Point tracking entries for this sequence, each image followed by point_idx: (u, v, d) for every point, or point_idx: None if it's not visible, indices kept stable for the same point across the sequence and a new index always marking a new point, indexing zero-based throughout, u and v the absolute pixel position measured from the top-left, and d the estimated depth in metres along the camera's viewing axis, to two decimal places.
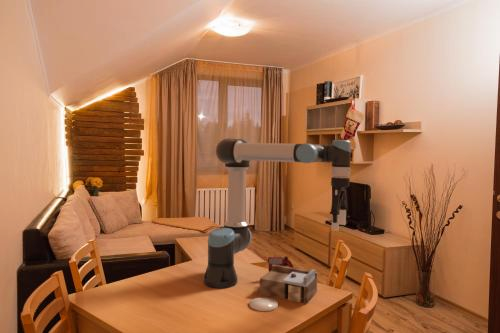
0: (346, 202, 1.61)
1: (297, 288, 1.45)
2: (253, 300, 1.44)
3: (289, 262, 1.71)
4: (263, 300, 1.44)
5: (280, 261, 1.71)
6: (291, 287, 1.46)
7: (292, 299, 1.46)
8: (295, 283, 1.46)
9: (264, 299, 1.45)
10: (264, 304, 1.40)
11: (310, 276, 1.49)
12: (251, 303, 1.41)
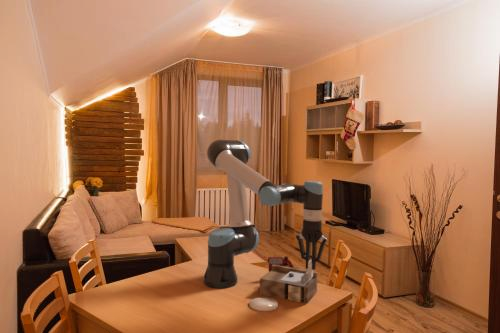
0: (318, 254, 1.46)
1: (297, 288, 1.45)
2: (253, 300, 1.44)
3: (289, 262, 1.71)
4: (263, 300, 1.44)
5: (280, 261, 1.71)
6: (291, 287, 1.46)
7: (292, 299, 1.46)
8: (293, 283, 1.46)
9: (264, 299, 1.45)
10: (264, 304, 1.40)
11: None
12: (251, 303, 1.41)
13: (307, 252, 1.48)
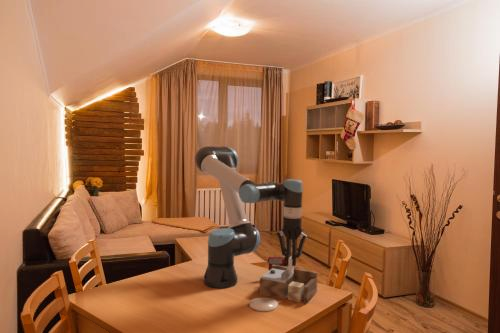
0: (298, 250, 1.50)
1: (297, 288, 1.45)
2: (253, 300, 1.44)
3: None
4: (263, 300, 1.44)
5: (280, 261, 1.71)
6: (291, 287, 1.46)
7: (292, 299, 1.46)
8: (273, 279, 1.50)
9: (264, 299, 1.45)
10: (264, 304, 1.40)
11: None
12: (251, 303, 1.41)
13: (287, 249, 1.52)
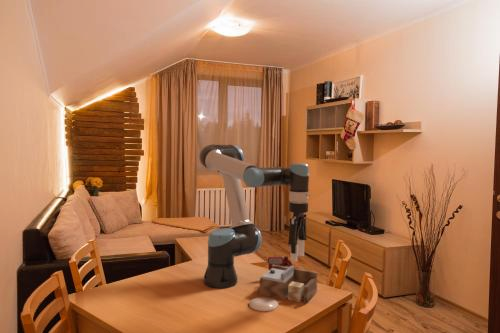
0: (305, 231, 1.52)
1: (297, 288, 1.45)
2: (253, 300, 1.44)
3: (289, 262, 1.71)
4: (263, 300, 1.44)
5: (280, 261, 1.71)
6: (291, 287, 1.46)
7: (292, 299, 1.46)
8: (273, 279, 1.50)
9: (264, 299, 1.45)
10: (264, 304, 1.40)
11: (288, 272, 1.53)
12: (251, 303, 1.41)
13: (297, 236, 1.43)
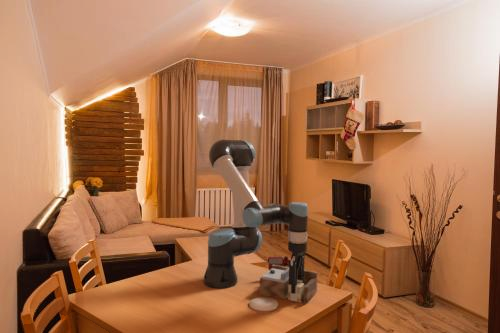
0: (303, 270, 1.52)
1: None
2: (253, 300, 1.44)
3: None
4: (263, 300, 1.44)
5: (280, 261, 1.71)
6: None
7: None
8: (273, 279, 1.50)
9: (264, 299, 1.45)
10: (264, 304, 1.40)
11: (288, 272, 1.53)
12: (251, 303, 1.41)
13: (297, 276, 1.45)
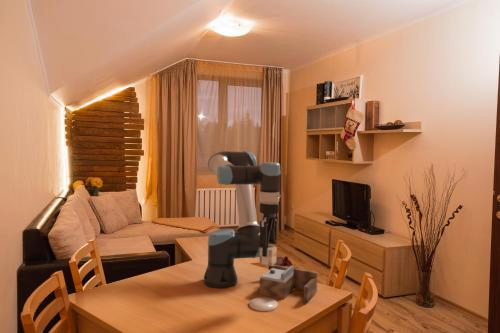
0: (276, 234, 1.46)
1: (269, 251, 1.39)
2: (253, 300, 1.44)
3: (289, 262, 1.71)
4: (263, 300, 1.44)
5: (280, 261, 1.71)
6: None
7: None
8: (273, 279, 1.50)
9: (264, 299, 1.45)
10: (264, 304, 1.40)
11: (288, 272, 1.53)
12: (251, 303, 1.41)
13: (268, 238, 1.38)
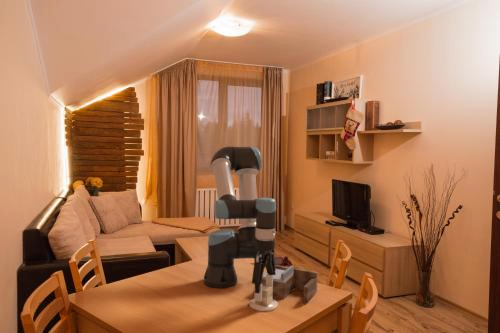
0: (274, 266, 1.47)
1: (264, 292, 1.38)
2: (253, 300, 1.44)
3: (289, 262, 1.71)
4: None
5: (280, 261, 1.71)
6: None
7: (259, 303, 1.40)
8: (273, 279, 1.50)
9: None
10: None
11: (288, 272, 1.53)
12: (251, 303, 1.41)
13: (262, 274, 1.36)
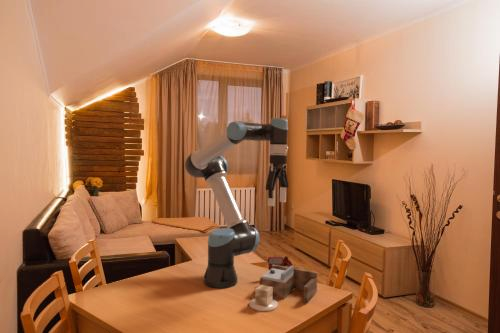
0: (286, 180, 1.65)
1: (264, 292, 1.38)
2: (253, 300, 1.44)
3: (289, 262, 1.71)
4: None
5: (280, 261, 1.71)
6: (258, 291, 1.40)
7: (259, 303, 1.40)
8: (273, 279, 1.50)
9: None
10: None
11: (288, 272, 1.53)
12: (251, 303, 1.41)
13: (275, 183, 1.52)
